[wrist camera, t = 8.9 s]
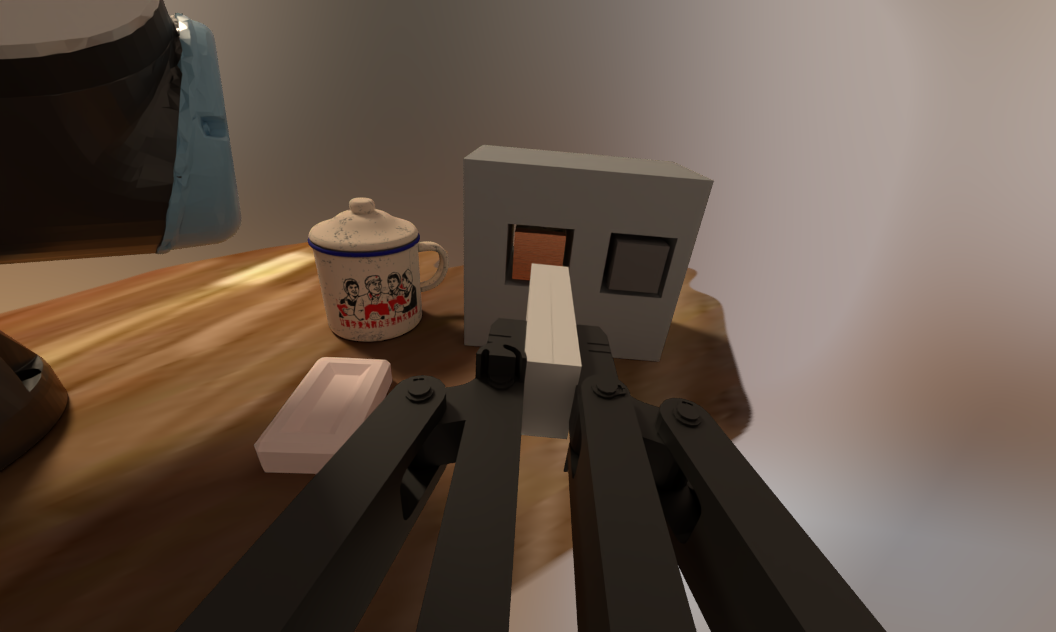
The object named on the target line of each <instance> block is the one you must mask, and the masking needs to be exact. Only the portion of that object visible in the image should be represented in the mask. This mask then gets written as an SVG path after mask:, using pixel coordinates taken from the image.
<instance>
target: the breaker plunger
mask: <svg viewBox="0 0 1056 632" xmlns="http://www.w3.org/2000/svg"><path fill="white" fill-rule="evenodd" d="M565 242H566V232H565V229H564V228H553V227H541V226H530V225H518V224H517V226H516V230H515V242H514V257H513V273H512V279H520V280H530V276H531V266H532V263H533V264H543V265H553V266H562V265H563V257H564V249H565Z"/></svg>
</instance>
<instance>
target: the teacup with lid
mask: <svg viewBox="0 0 1056 632" xmlns="http://www.w3.org/2000/svg"><path fill="white" fill-rule="evenodd" d="M349 206H350V210H347V211H344V212H342V213H340V214H338V215H337V216H335V217H334V218H333V219H329V220H326V221H323V222H321V223H318V224H317V225H315V226H314V227H313V228H312V229H311V230H310V233H309V237H308V244H309V245H310V246H311V247H312V248H313V252H314V257H315V262H316V267H317V272H318V276H319V281H320V286H321V291H322V296H323V301H324V306H325V310H326V315H327V320H328V325H329V327H330V329H331V330H332V331H333V332H334V333H335V334H337V335H338V336H340V337H343V338H345V339H349V340H354V341H363V342H372V341H382V340H387V339H391V338H395V337H398V336H400V335H403V334H405V333H407V332H409V331H410V330H412V329H413V328H414V327H415V326H416V325H417V324H418V323H419V322H420V320H421V317H422V304H421V292H424V291H428V290H430V289H433V288H435V287H436V286H438V285H439V284H440V283H441V282H442V280H443V279H444V277H445V275H446V273H447V270H448V263H449V261H448V255H447V253H446V251H445V250H444V249H443V248H442V247H441V246H440V245H438V244H436V243H434V242H419V239H420V235H419V233H418V230H417V228H416V227H415V226H414V225H413V224H412V223H410V222H409V221H406V220H404V219H400V218H396V217H393V216H391V215H389V214H388V213H386V212H384V211H381V210H377V209H375V203H374V202H373V200H371V199H368V198H354V199H352V200H351V201H350V202H349ZM418 242H419V243H418ZM422 251H436V252H438V253H439V257H440V263H439V267H438V270H437V272H436V273H435V275H434V276H433V277H432V278H431V279H429V280H427V281H425V282H421V283H420V273H419V258H418V252H422Z"/></svg>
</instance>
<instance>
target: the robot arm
mask: <svg viewBox="0 0 1056 632" xmlns="http://www.w3.org/2000/svg"><path fill="white" fill-rule="evenodd" d="M182 15H183V14H179V13H175V15H171V16H169V15H168V12H167V9H166V7H165V4H164V1H163V0H0V264H13V263H27V262H40V261H53V260H68V259H81V258H95V257H109V256H123V255H136V254H151V253H156V254H164V253H168V252H169V251H170V250H174V249H182V248H188V247H196V246H203V245H210V244H218V243H221V242H224V241H226V240H227V239H229V238H231V237H232V236H233V235H235V234H236V232H237V231H238V229H239V227H240V224H241V211H240V204H239V197H238V191H237V184H236V179H235V172H234V165H233V159H232V152H231V145H230V139H229V133H228V125H227V119H226V112H225V106H224V98H223V91H222V85H221V78H220V71H219V65H218V58H217V51H216V45H215V39H214V35H213V33H212V32H211V30H210V29H209V28H208V27H207V26H206V25H204V24H202V23H200V22H196V21H193V20H191V19H190V18H188V17H187V16H182ZM67 398H68V397H67V392H66V389H65V388H64V386H63V384H62V383H61V381H60V380H59V378H58V377H57V375H56V374H55V372H54V371H53V369H52V368H51V366H50V365H49V364H48V363H47V362H46V361H45V360H44V359H43V358H42V357H40V356H39V355H37V354H35V353H34V352H32V351H31V350H29V349H28V348H26V347H25V346H23V345H22V344H20V343H19V342H17V341H16V340H14V339H13V338H11V337H10V336H8V335H7V334H5V333H4V332H2V331H0V470H2V469H3V468H5V467H6V466H8V465H9V464H10V463H12V462H13V461H15V460H16V459H17V458H19V457H20V456H21V455H23V454H24V453H25V452H26V451H28V450H29V449H30V448H31V447H32V446H34V445H35V444H36V443H37V442H38V441H39V440H40V439H41V438H43V437H44V436H45V435H46V434H47V433H48V432H49V431H50V429H51V428H52V427H53V426H54V425H55V424H56V422H57V421H58V420H59V418H60V417H61V415H62V413H63V412H64V409H65V407H66V404H67ZM568 431H569V434H570V443H569V448H568V452H567V457H566V462H565V467H564V472H568V474H569V491H570V507H571V524H572V541H573V558H574V574H575V591H576V608H577V625H578V632H696V628H695V624H694V621H693V617H692V614H691V610H690V607H689V603H688V599H687V596H686V592H685V589H684V585H683V581H682V578H681V574H680V571H679V568H680V570H681V572H682V574H683V576H684V578H685V580H686V582H687V584H688V586H689V588H690V590H691V592H692V594H693V596H694V598H695V600H696V602H697V604H698V606H699V608H700V610H701V612H702V614H703V616H704V619H705V621H706V622H707V625H708V627H709V629H710V630H711V632H886V630H885V629H884V628H883V627H882V626H881V624H880V623H879V622H878V621H877V620H876V618H874V616H873V615H872V613H871V612H870V611H869V610H868V608H866V606H865V605H864V604H863V602H862V601H861V600H860V599H859V597H858V596H857V595H856V594H855V592H854V591H853V590H852V589H851V588H850V586H849V585H848V584H847V583H846V581H845V580H844V579H843V578H842V576H841V575H840V574H839V573H838V572H837V570H836V569H835V568H834V567H833V565H832V564H831V563H830V562H829V561H828V559H827V558H826V557H825V556H824V554H823V553H822V552H821V551H820V549H819V548H818V547H817V546H816V545H815V543H814V542H813V541H812V540H811V538H810V537H809V536H808V535H807V534H806V533H805V531H804V530H803V529H802V527H801V526H800V525H799V524H798V523H797V521H796V520H795V519H794V518H793V516H792V515H791V514H790V513H789V511H788V510H787V509H786V508H785V506H784V505H783V504H782V503H781V502H780V500H779V499H778V498H777V497H776V495H775V494H774V493H773V492H772V491H771V489H770V488H769V487H768V486H767V485H766V483H765V482H764V481H763V480H762V478H761V477H760V476H759V475H758V473H757V472H756V471H755V470H754V469H753V467H752V466H751V465H750V464H749V462H748V461H747V460H746V459H745V457H744V456H743V455H742V454H741V453H740V451H739V450H738V449H737V448H736V446H735V445H734V444H733V443H732V441H731V440H730V439H729V438H728V436H727V435H726V434H725V433H724V432H723V430H722V429H721V428H720V427H719V425H718V424H717V423H716V422H715V421H714V419H713V418H712V417H711V416H710V414H709V413H708V412H707V411H705V410H704V409H703V408H702V407H701V406H699V405H697V404H695V403H694V402H692V401H688V400H685V399H681V398H671V399H667V400H665V401H664V402H663V403H662V404H661V405H660V408H659V407H656V406H653V405H650V404H647V403H644V402H641V401H639V400H636V399H635V398H633V397H631V395H630V392H629V390H628V388H627V387H626V386H625V385H624V384H623V383H622V382H621V381H620V380H618V376H617V372H616V368H615V364H614V360H613V357H612V354H611V349H610V346H609V341H608V337H607V335H606V334H605V332H604V331H603V330H602V329H601V328H600V327H599V326H588V325H578V324H576V321H575V314H574V306H573V299H572V291H571V284H570V277H569V269H568V267H563V266H553V265H543V264H533V263H532V266H531V276H530V285H529V295H528V305H527V315H526V320H516V319H505V318H498V319H497V320H496V321H495V322H494V323H493V324H492V325H491V327H490V332H489V336H488V340H487V344H485V345H484V346H482V347H480V348H479V350H478V351H477V353H476V378H475V379H473V380H472V381H470V382H468V383H466V384H464V385H459V386H454V387H446V388H445V385H444V384H443V383H442V382H441V381H440V380H439V379H437V378H434V377H432V376H424V375H421V376H413V377H410V378H408V379H405V380H403V381H402V382H400V383H399V384H398V385H396V386H395V388H394V389H393V390H392V391H391V392H390V393H389V394H388V395H387V396H386V398H385V399H384V400H383V401H382V402H381V403H380V404H379V405H378V406H377V408H376V409H375V410H374V411H373V412H372V413H371V414H370V415H369V416H368V418H367V419H366V420H365V421H364V422H363V423H362V424H361V425H360V426H359V428H358V429H357V430H356V431H355V432H354V433H353V434H352V435H351V436H350V438H349V439H348V440H347V441H346V442H345V443H344V444H343V445H342V446H341V448H340V449H339V450H338V451H337V452H336V453H335V454H334V455H333V456H332V458H331V459H330V460H329V461H328V462H327V463H326V464H325V465H324V466H323V468H322V469H321V470H320V471H319V472H318V473H317V474H316V475H315V476H314V478H313V479H312V480H311V481H310V482H309V483H308V484H307V485H306V486H305V488H304V489H303V490H302V491H301V492H300V493H299V494H298V495H297V496H296V498H295V499H294V500H293V501H292V502H291V503H290V504H289V505H288V506H287V508H286V509H285V510H284V511H283V512H282V513H281V514H280V515H279V516H278V518H277V519H276V520H275V521H274V522H273V523H272V524H271V525H270V526H269V528H268V529H267V530H266V531H265V532H264V533H263V534H262V535H261V536H260V538H259V539H258V540H257V541H256V542H255V543H254V544H253V545H252V546H251V548H250V549H249V550H248V551H247V552H246V553H245V554H244V555H243V556H242V558H241V559H240V560H239V561H238V562H237V563H236V564H235V565H234V566H233V568H232V569H231V570H230V571H229V572H228V573H227V574H226V575H225V576H224V578H223V579H222V580H221V581H220V582H219V583H218V584H217V585H216V587H215V588H214V589H213V590H212V591H211V592H210V593H209V594H208V595H207V597H206V598H205V599H204V600H203V601H202V602H201V603H200V604H199V605H198V607H197V608H196V609H195V610H194V611H193V612H192V613H191V614H190V615H189V617H188V618H187V619H186V620H185V621H184V622H183V623H182V624H181V625H180V627H179V628H178V629H177V630H176V631H175V632H354V630H355V629H356V627H357V625H358V623H359V621H360V620H361V618H362V616H363V614H364V613H365V611H366V609H367V607H368V605H369V604H370V602H371V600H372V598H373V596H374V595H375V593H376V591H377V589H378V588H379V586H380V584H381V582H382V580H383V579H384V577H385V575H386V573H387V572H388V570H389V568H390V566H391V564H392V563H393V561H394V559H395V557H396V556H397V554H398V552H399V550H400V548H401V547H402V545H403V543H404V541H405V540H406V538H407V536H408V534H409V532H410V531H411V529H412V527H413V525H414V524H415V522H416V520H417V518H418V516H419V515H420V513H421V511H422V509H423V507H424V506H425V504H426V502H427V500H428V499H429V497H430V495H431V493H432V491H433V490H434V488H435V486H436V484H437V483H438V481H439V479H440V477H441V475H442V474H443V472H444V470H445V468H446V465H447V464H449V463H454V462H456V464H455V468H454V472H453V476H452V481H451V485H450V489H449V493H448V498H447V502H446V506H445V510H444V515H443V519H442V523H441V527H440V532H439V536H438V540H437V544H436V549H435V553H434V557H433V561H432V566H431V570H430V574H429V578H428V583H427V587H426V591H425V595H424V600H423V604H422V608H421V612H420V617H419V621H418V625H417V629H416V632H509V616H510V601H511V585H512V570H513V554H514V539H515V523H516V507H517V492H518V476H519V461H520V445H521V435H529V436H539V437H550V438H561V439H567V436H568ZM678 566H679V567H678Z"/></svg>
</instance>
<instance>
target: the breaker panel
mask: <svg viewBox="0 0 1056 632" xmlns="http://www.w3.org/2000/svg"><path fill="white" fill-rule="evenodd" d="M713 182H714V181H713V180H711V179H709V178H707V177H704V176H703V175H700V174H698V173H696V172H694V171H692V170H689V169H687V168H685V167H683V166H681V165H679V164H677V163H675V162H670V161H659V160H648V159H637V158H636V159H635V158H624V157H614V156H602V155H590V154H580V153H569V152H557V151H546V150H534V149H522V148H512V147H501V146H490V145H482V146H481V147H479V148H478V149H476V150H475V151H474V152H472V153H471V154H469V155H468V156H467V157H465V158H464V345H470V346H484V345H485V344H487V340H488V336H489V332H490V327H491V325H492V324H493V323H494V322H495V321H496V320H497V319H498V318H505V319H516V320H526V315H527V305H528V295H529V285H530V280H520V279H512V273H513V257H514V246H513V236H514V224H518V225H530V226H541V227H553V228H564V229H565V232H566V242H565V249H564V257H563V265H562V266H563V267H568V269H569V277H570V284H571V291H572V299H573V306H574V314H575V321H576V324H578V325H588V326H599V327H600V328H601V329H602V330H603V331H604V332H605V334H606V335H607V337H608V341H609V346H610V349H611V354H612V357H613V358H623V359H635V360H647V361H658V362H659V360H660V357H661V354H662V351H663V347H664V344H665V341H666V337H667V334H668V331H669V327H670V324H671V321H672V317H673V314H674V311H675V308H676V304H677V301H678V298H679V294H680V291H681V288H682V284H683V281H684V278H685V274H686V271H687V268H688V264H689V261H690V258H691V255H692V251H693V248H694V244H695V241H696V238H697V234H698V231H699V228H700V225H701V221H702V218H703V215H704V211H705V208H706V205H707V202H708V198H709V195H710V192H711V188H712V185H713Z"/></svg>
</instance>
